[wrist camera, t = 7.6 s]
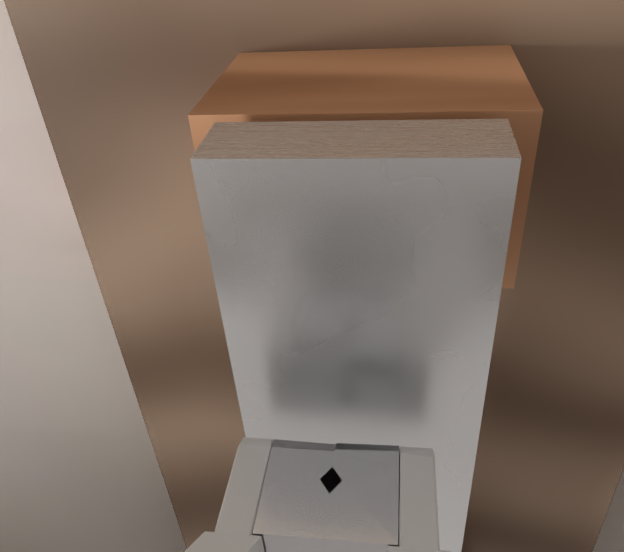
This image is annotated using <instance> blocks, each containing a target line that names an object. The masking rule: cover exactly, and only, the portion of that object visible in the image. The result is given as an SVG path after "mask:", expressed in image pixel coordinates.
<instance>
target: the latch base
mask: <svg viewBox="0 0 624 552" xmlns="http://www.w3.org/2000/svg"><path fill="white" fill-rule="evenodd" d="M4 2H5V5H6V8H7V11H8V14H9V17H10V20H11V23H12V26H13V29H14V32H15V35H16V38H17V41H18V44H19V47H20V50H21V53H22V56H23V59H24V62H25V65H26V68H27V71H28V74H29V77H30V80H31V83H32V86H33V89H34V92H35V95H36V98H37V101H38V104H39V107H40V110H41V113H42V116H43V119H44V122H45V125H46V128H47V131H48V134H49V137H50V140H51V143H52V146H53V149H54V152H55V155H56V158H57V161H58V164H59V167H60V170H61V173H62V176H63V179H64V182H65V185H66V188H67V191H68V194H69V197H70V200H71V203H72V206H73V209H74V212H75V215H76V218H77V221H78V224H79V227H80V230H81V233H82V236H83V239H84V242H85V244H86V247H87V250H88V253H89V256H90V259H91V262H92V265H93V268H94V271H95V274H96V277H97V280H98V283H99V286H100V289H101V292H102V295H103V298H104V301H105V304H106V307H107V310H108V313H109V316H110V319H111V322H112V325H113V328H114V331H115V334H116V337H117V340H118V343H119V346H120V349H121V352H122V355H123V358H124V361H125V364H126V367H127V370H128V373H129V376H130V379H131V382H132V385H133V388H134V391H135V394H136V397H137V400H138V403H139V406H140V409H141V412H142V415H143V418H144V421H145V424H146V427H147V430H148V433H149V436H150V439H151V442H152V445H153V448H154V451H155V454H156V457H157V460H158V463H159V466H160V469H161V472H162V475H163V478H164V481H165V484H166V487H167V490H168V493H169V496H170V499H171V502H172V505H173V508H174V511H175V514H176V517H177V520H178V523H179V526H180V529H181V532H182V535H183V538H184V541H185V544H186V547H187V549H188V548H189V547H190V546H191V545H192V544H193V543H194V542H195V541H196V540H197V539H198V538H199V537H200V536H201V535H202V534H203V533H204V532H205V531H209V532H214V531H215V527H216V524H217V520H218V517H219V513H220V510H221V506H222V502H223V499H224V495H225V492H226V488H227V485H228V481H229V477H230V474H231V470H232V467H233V463H234V459H235V456H236V452H237V449H238V446H239V444H240V442H241V441H242V439H243V437H246V436H245V431H244V426H243V421H242V416H241V411H240V406H239V401H238V396H237V391H236V386H235V381H234V376H233V371H232V366H231V361H230V356H229V351H228V346H227V341H226V336H225V331H224V326H223V321H222V316H221V311H220V306H219V301H218V296H217V291H216V286H215V281H214V276H213V271H212V266H211V261H210V256H209V251H208V246H207V241H206V236H205V231H204V226H203V221H202V216H201V211H200V206H199V201H198V196H197V191H196V186H195V181H194V176H193V171H192V166H191V161H190V158H191V157H192V155H193V154H194V152H195V151H196V149H197V148H198V146H199V145H200V143H201V142H202V141H203V139H204V138H205V136H206V135H207V133H208V132H209V130H210V129H211V127H212V126H213V124H214V123H215V122H277V121H357V120H438V119H508V120H509V123H510V126H511V129H512V132H513V135H514V138H515V140H516V143H517V146H518V149H519V152H520V155H521V165H520V171H519V178H518V184H517V191H516V197H515V204H514V210H513V217H512V223H511V230H510V237H509V243H508V250H507V256H506V263H505V269H504V276H503V282H502V289H501V295H500V302H499V308H498V315H497V322H496V328H495V335H494V341H493V348H492V354H491V361H490V367H489V374H488V380H487V387H486V394H485V400H484V407H483V413H482V420H481V426H480V433H479V439H478V446H477V452H476V459H475V466H474V472H473V479H472V485H471V492H470V498H469V505H468V511H467V518H466V524H465V531H464V538H463V544H462V551H461V552H592V550H593V548H594V545H595V542H596V540H597V537H598V534H599V532H600V529H601V527H602V524H603V521H604V519H605V516H606V513H607V511H608V508H609V505H610V503H611V500H612V498H613V495H614V492H615V490H616V487H617V484H618V482H619V479H620V476H621V474H622V471H623V468H624V0H4Z"/></svg>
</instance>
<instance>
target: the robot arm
mask: <svg viewBox="0 0 624 552" xmlns="http://www.w3.org/2000/svg"><path fill="white" fill-rule="evenodd" d="M184 552H450V551H445V550H440V545H439V526H438V507H437V488H436V470H435V454H434V451H433V449H432V448H418V447H400V449H399V446H394V445H371V444H347V443H336V444H326V443H314V442H302V441H290V440H278V439H264V438H249V437H243V439H242V441H241V442H240V444H239V446H238V449H237V452H236V456H235V459H234V463H233V467H232V470H231V474H230V477H229V481H228V485H227V488H226V492H225V495H224V499H223V502H222V506H221V510H220V513H219V517H218V520H217V524H216V527H215V531H214V532H209V531H205V532H204V533H203V534H202V535H201V536H200V537H199V538H198V539H197V540H196V541H195V542H194V543H193V544H192V545H191V546H190V547H189V548H188V549H186V550H185V551H184Z"/></svg>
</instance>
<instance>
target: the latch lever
mask: <svg viewBox="0 0 624 552" xmlns="http://www.w3.org/2000/svg"><path fill="white" fill-rule="evenodd" d="M190 161H191V166H192V171H193V176H194V181H195V186H196V191H197V196H198V201H199V206H200V211H201V216H202V221H203V226H204V231H205V236H206V241H207V246H208V251H209V256H210V261H211V266H212V271H213V276H214V281H215V286H216V291H217V296H218V301H219V306H220V311H221V316H222V321H223V326H224V331H225V336H226V341H227V346H228V351H229V356H230V361H231V366H232V371H233V376H234V381H235V386H236V391H237V396H238V401H239V406H240V411H241V416H242V421H243V426H244V431H245V436H246V437H249V438H264V439H278V440H290V441H302V442H314V443H326V444H336V443H347V444H371V445H394V446H399V449H400V447H418V448H432V449H433V451H434V454H435V470H436V488H437V507H438V526H439V545H440V550H445V551H450V552H461V551H462V544H463V538H464V531H465V524H466V518H467V511H468V505H469V498H470V492H471V485H472V479H473V472H474V466H475V459H476V452H477V446H478V439H479V433H480V426H481V420H482V413H483V407H484V400H485V394H486V387H487V380H488V374H489V367H490V361H491V354H492V348H493V341H494V335H495V328H496V322H497V315H498V308H499V302H500V295H501V289H502V282H503V276H504V269H505V263H506V256H507V250H508V243H509V237H510V230H511V223H512V217H513V210H514V204H515V197H516V191H517V184H518V178H519V171H520V165H521V155H520V152H519V149H518V146H517V143H516V140H515V138H514V135H513V132H512V129H511V126H510V123H509V120H508V119H438V120H357V121H277V122H215V123H214V124H213V126H212V127H211V129H210V130H209V132H208V133H207V135H206V136H205V138H204V139H203V141H202V142H201V143H200V145H199V146H198V148H197V149H196V151H195V152H194V154H193V155H192V157H191V158H190Z"/></svg>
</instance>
